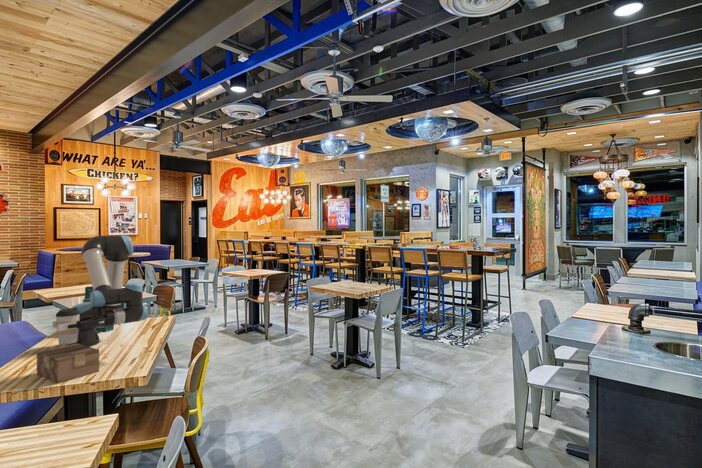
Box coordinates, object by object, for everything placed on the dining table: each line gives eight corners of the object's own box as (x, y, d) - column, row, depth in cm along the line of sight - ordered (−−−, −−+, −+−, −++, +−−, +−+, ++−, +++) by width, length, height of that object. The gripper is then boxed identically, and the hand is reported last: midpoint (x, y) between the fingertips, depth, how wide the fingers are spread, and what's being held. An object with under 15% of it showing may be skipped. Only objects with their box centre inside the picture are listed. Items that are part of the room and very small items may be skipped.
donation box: (113, 326, 257) (113, 285, 257) (113, 331, 243) (112, 288, 243) (85, 329, 249) (84, 286, 249) (82, 334, 235) (82, 289, 235)
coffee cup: (60, 346, 164) (60, 311, 164) (51, 343, 169) (51, 309, 169) (84, 341, 172) (84, 308, 172) (75, 338, 177) (74, 306, 177)
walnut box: (35, 375, 169) (35, 352, 169) (77, 363, 183) (77, 343, 183) (57, 384, 159) (57, 360, 158) (99, 371, 173) (99, 349, 173)
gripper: (121, 328, 178) (62, 339, 160) (105, 322, 191) (49, 330, 174) (121, 312, 178) (61, 321, 160) (105, 307, 191) (49, 314, 174)
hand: (55, 326), depth 167 cm, fingers closed on coffee cup, 8 cm apart
